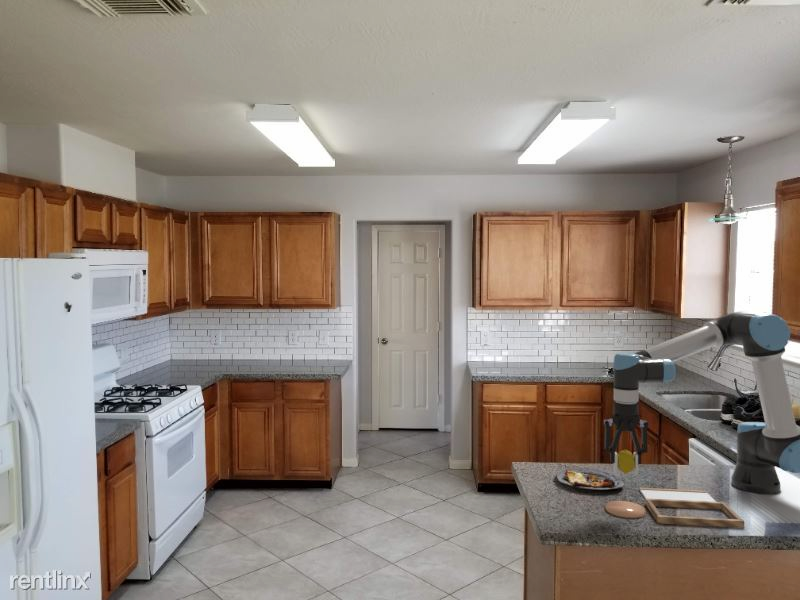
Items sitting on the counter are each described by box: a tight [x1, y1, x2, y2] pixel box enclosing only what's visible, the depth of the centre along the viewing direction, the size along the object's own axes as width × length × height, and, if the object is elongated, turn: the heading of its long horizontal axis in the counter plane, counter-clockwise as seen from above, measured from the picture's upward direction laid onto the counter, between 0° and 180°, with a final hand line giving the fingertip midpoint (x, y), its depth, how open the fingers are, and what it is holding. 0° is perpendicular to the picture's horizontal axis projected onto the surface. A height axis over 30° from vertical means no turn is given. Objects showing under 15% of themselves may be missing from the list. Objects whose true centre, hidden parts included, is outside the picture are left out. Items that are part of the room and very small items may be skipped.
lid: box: [638, 487, 717, 502], centre depth 199 cm, size 22×13×1 cm, turn 81°
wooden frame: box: [644, 498, 745, 529], centre depth 185 cm, size 24×16×2 cm, turn 81°
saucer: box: [605, 500, 646, 519], centre depth 189 cm, size 12×12×1 cm
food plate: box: [556, 466, 626, 491], centre depth 216 cm, size 25×23×4 cm
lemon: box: [617, 449, 635, 475], centre depth 189 cm, size 6×6×8 cm
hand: (625, 473), depth 189 cm, fingers closed on lemon, 5 cm apart
